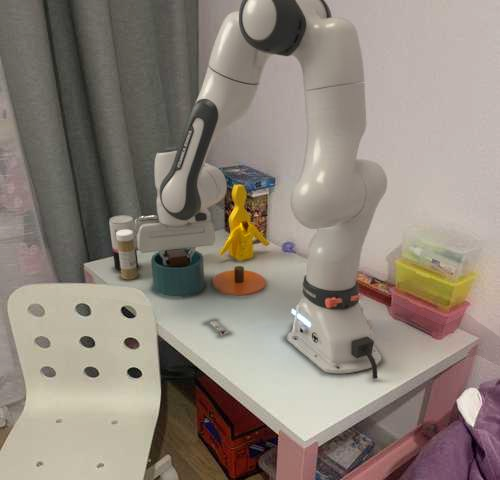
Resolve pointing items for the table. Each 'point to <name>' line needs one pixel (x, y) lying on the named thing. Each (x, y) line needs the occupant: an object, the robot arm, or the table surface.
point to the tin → (178, 276)
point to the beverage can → (116, 225)
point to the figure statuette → (241, 228)
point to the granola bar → (219, 328)
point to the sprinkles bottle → (127, 254)
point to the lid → (239, 282)
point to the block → (177, 258)
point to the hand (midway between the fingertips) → (177, 263)
